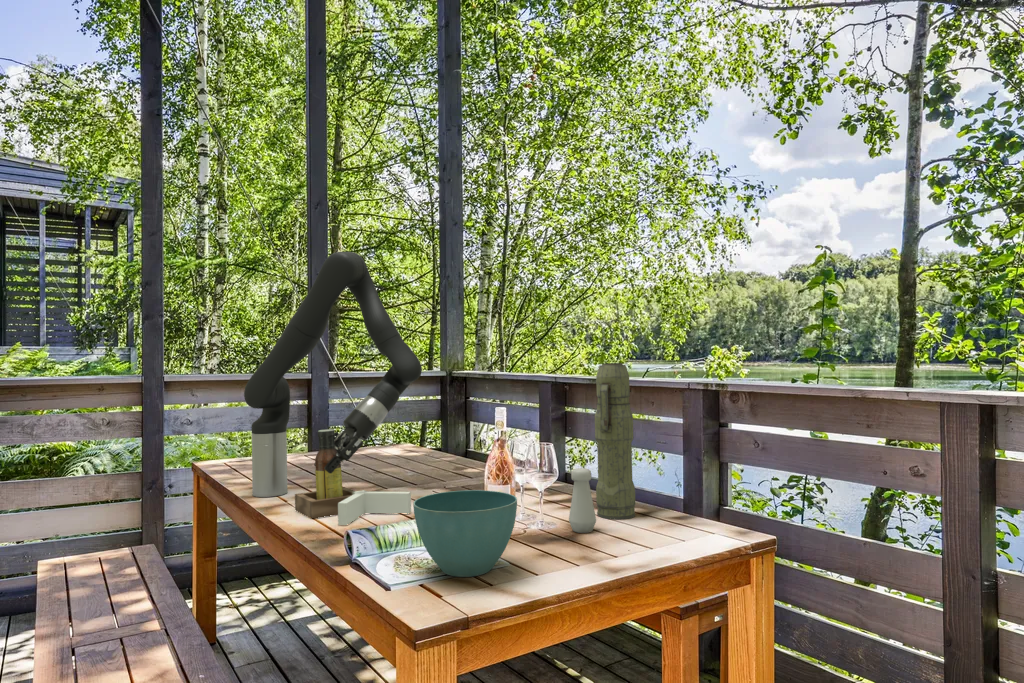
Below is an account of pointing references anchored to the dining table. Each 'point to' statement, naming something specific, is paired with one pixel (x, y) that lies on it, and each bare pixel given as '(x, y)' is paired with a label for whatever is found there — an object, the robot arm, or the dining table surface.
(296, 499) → the collar
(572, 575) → the dining table surface
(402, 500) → the v block
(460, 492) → the plant pot
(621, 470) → the thermos
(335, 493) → the sauce bottle
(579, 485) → the salt shaker
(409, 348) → the robot arm
